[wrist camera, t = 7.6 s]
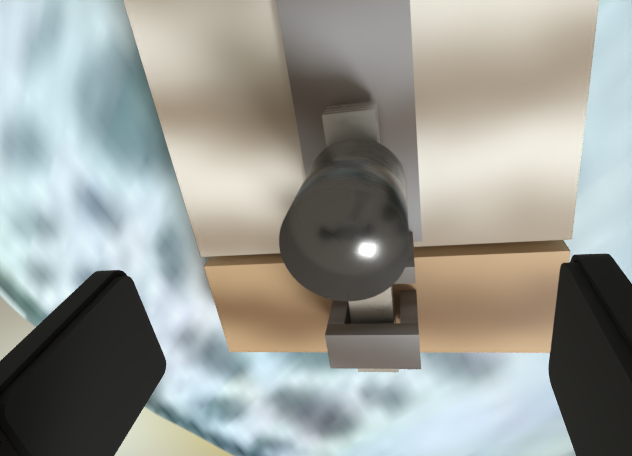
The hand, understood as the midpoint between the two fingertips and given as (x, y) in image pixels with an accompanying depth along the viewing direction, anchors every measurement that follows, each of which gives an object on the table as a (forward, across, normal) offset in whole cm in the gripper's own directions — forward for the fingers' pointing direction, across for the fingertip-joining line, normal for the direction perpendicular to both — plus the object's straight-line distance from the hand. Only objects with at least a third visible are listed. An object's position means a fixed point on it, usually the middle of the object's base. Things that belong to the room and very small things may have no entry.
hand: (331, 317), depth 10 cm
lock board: (+14, 0, +1) cm, 14 cm away
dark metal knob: (+11, 0, +4) cm, 11 cm away
